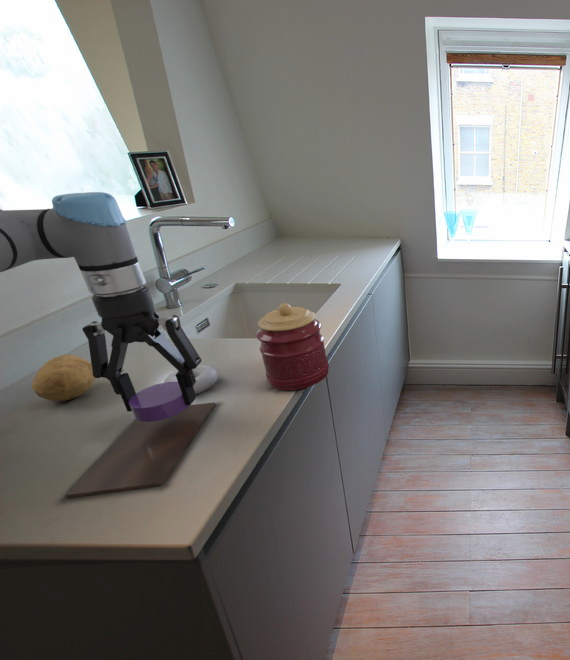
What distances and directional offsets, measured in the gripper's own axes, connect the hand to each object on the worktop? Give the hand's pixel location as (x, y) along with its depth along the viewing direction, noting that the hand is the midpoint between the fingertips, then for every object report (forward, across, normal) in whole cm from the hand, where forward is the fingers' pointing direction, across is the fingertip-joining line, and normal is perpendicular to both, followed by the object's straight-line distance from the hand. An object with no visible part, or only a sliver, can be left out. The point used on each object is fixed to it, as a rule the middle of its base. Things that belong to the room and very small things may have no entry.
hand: (162, 404), depth 83 cm
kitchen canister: (+5, +21, +14) cm, 25 cm away
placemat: (+4, 0, -6) cm, 8 cm away
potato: (+4, -25, +16) cm, 30 cm away
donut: (+5, -1, +14) cm, 14 cm away
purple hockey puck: (+1, 0, 0) cm, 1 cm away
